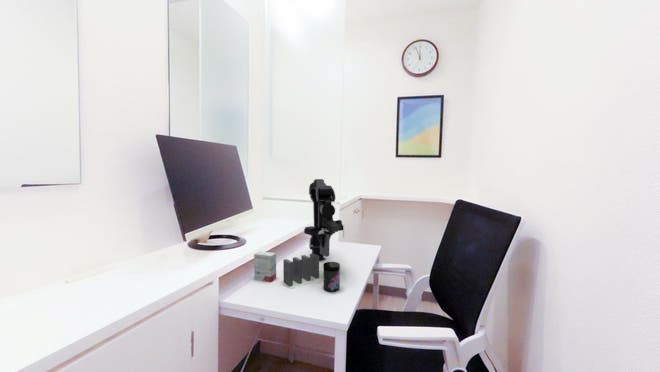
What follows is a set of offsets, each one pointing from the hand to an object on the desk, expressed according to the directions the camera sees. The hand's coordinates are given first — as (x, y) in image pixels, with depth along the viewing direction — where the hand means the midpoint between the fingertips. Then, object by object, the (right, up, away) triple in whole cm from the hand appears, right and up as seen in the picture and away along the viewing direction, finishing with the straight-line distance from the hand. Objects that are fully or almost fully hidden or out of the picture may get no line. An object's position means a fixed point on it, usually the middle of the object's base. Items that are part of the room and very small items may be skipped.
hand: (324, 247), depth 131 cm
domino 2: (-11, -13, -8) cm, 19 cm away
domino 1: (-15, -13, -11) cm, 23 cm away
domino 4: (-4, -13, -3) cm, 14 cm away
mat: (-6, -13, -4) cm, 15 cm away
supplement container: (+3, -14, -15) cm, 21 cm away
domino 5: (0, -4, 0) cm, 4 cm away
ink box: (-26, -13, -5) cm, 29 cm away
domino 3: (-8, -13, -5) cm, 16 cm away
